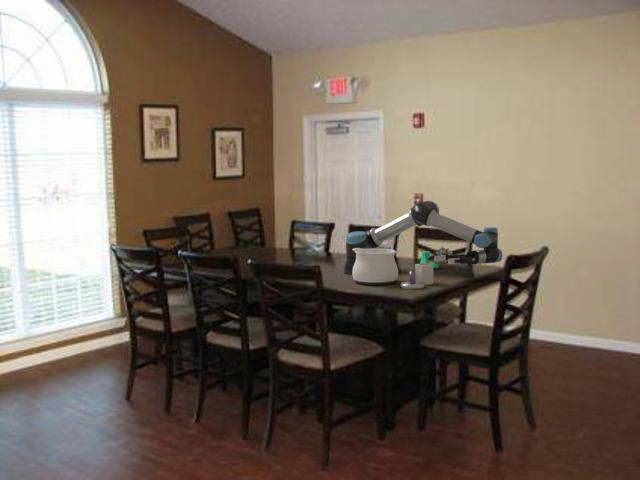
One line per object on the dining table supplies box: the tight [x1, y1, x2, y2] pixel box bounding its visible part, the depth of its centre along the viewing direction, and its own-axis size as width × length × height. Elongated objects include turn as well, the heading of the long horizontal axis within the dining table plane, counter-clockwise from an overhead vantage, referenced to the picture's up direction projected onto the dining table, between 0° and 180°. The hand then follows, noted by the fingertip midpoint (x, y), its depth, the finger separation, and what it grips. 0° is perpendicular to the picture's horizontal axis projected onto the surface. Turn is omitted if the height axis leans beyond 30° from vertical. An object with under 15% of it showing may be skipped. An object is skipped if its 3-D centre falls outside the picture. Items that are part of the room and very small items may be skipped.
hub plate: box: [400, 270, 425, 290], centre depth 368 cm, size 12×12×8 cm
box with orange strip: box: [414, 263, 434, 286], centre depth 379 cm, size 7×7×11 cm
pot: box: [351, 248, 400, 286], centre depth 384 cm, size 28×24×17 cm
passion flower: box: [434, 245, 454, 264], centre depth 458 cm, size 11×11×12 cm
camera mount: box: [419, 250, 440, 269], centre depth 433 cm, size 12×8×10 cm, turn 11°
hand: (441, 260), depth 381 cm, fingers open, 13 cm apart
